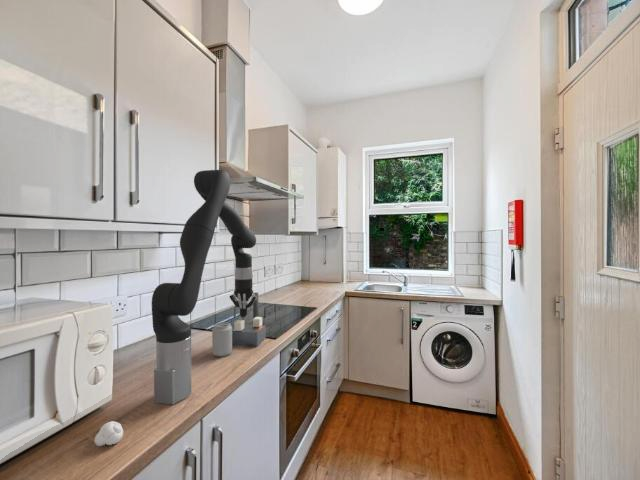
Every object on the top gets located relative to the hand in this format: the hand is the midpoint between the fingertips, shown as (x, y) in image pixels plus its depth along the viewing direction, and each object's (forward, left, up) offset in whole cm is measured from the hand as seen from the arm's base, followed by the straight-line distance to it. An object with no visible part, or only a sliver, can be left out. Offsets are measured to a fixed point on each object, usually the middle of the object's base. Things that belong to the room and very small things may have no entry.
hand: (243, 316), depth 128 cm
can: (-13, +3, -12) cm, 18 cm away
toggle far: (+4, -5, -5) cm, 8 cm away
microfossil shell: (-63, +4, -12) cm, 64 cm away
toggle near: (-2, +1, -5) cm, 5 cm away
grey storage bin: (+1, -2, -11) cm, 12 cm away
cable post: (+9, -2, -11) cm, 15 cm away
